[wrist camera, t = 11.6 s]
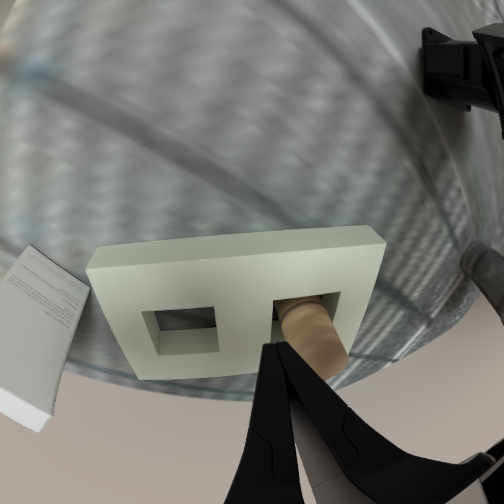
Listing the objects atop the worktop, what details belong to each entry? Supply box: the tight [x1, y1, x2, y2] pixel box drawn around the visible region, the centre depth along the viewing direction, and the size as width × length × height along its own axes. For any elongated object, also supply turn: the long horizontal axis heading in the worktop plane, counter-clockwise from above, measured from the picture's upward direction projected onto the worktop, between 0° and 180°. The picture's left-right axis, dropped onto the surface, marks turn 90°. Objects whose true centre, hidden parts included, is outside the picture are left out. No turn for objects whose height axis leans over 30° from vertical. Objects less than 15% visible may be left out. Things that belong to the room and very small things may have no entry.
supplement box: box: [0, 245, 90, 433], centre depth 15 cm, size 7×7×13 cm
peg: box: [274, 295, 349, 380], centre depth 21 cm, size 4×4×8 cm
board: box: [86, 225, 387, 380], centre depth 23 cm, size 22×14×3 cm, turn 90°
